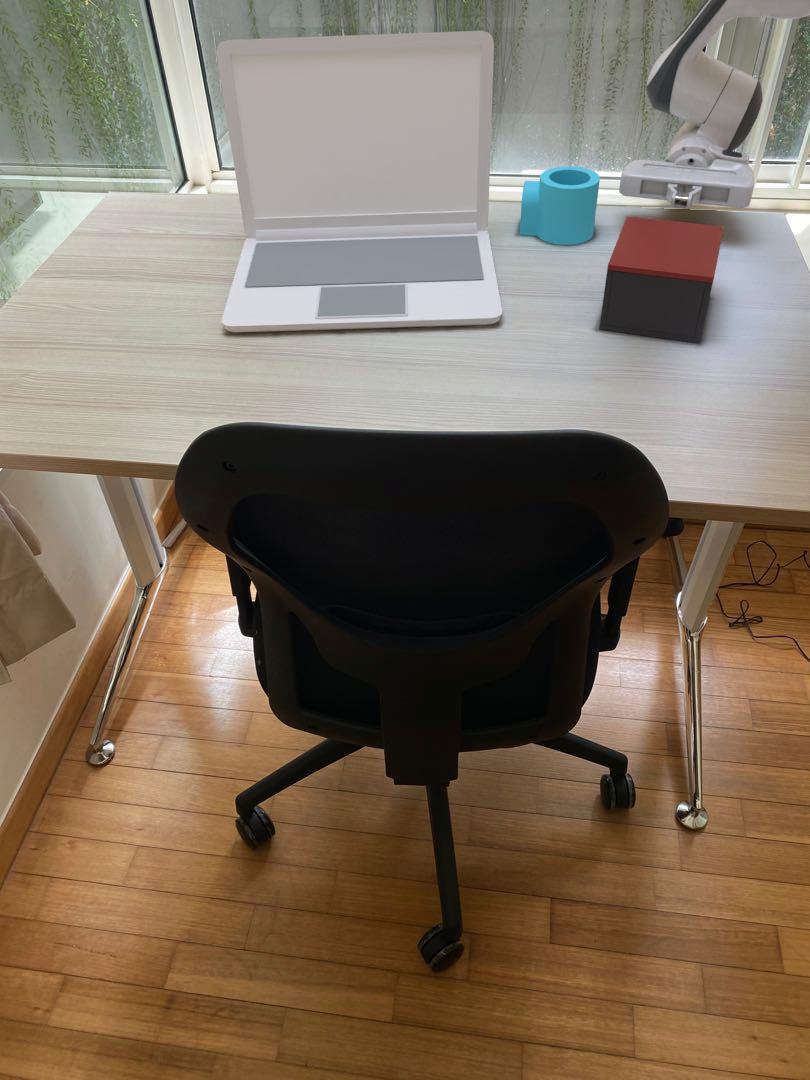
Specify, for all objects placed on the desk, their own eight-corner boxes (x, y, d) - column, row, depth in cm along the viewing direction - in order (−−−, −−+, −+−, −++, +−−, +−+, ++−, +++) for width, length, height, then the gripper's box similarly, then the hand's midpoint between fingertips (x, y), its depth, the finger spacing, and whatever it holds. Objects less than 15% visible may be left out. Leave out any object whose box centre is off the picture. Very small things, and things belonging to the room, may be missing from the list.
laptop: (221, 337, 124) (176, 105, 103) (248, 243, 146) (215, 37, 125) (502, 328, 123) (514, 93, 102) (486, 235, 146) (493, 27, 125)
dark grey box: (615, 285, 132) (623, 228, 126) (708, 297, 128) (721, 239, 122) (599, 329, 122) (607, 270, 116) (699, 343, 119) (712, 283, 113)
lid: (626, 221, 127) (626, 216, 127) (722, 231, 124) (724, 226, 123) (607, 270, 116) (607, 264, 116) (712, 283, 113) (714, 277, 112)
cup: (517, 242, 144) (521, 186, 137) (523, 218, 150) (527, 164, 144) (591, 246, 142) (598, 190, 135) (594, 222, 148) (601, 167, 142)
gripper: (628, 144, 143) (614, 175, 134) (759, 155, 138) (754, 189, 128) (623, 183, 147) (609, 216, 138) (750, 195, 142) (744, 230, 133)
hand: (680, 203), depth 133 cm, fingers closed
